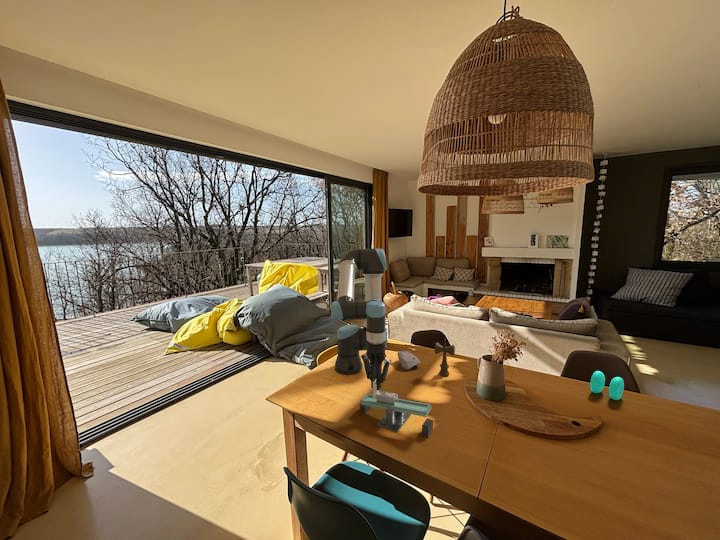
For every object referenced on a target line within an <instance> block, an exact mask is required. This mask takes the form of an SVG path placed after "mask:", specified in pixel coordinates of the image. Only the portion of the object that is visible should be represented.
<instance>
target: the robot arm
mask: <svg viewBox="0 0 720 540" xmlns="http://www.w3.org/2000/svg"><path fill="white" fill-rule="evenodd" d="M385 253H386V252H385V250H384V249H383V248H375V247H374V248H354V249H351V250H347V252H346V253H344V254H343V255H342V257H341V258H340V259H339V262H338V266H337V267H338V271H339V277H338V286H337V287H338V288H337V296H336V297H337V298H336V299H337V300H336V301H332V302H331V304H330V305H331V306H330V315H331V318H332V319H333V320H342V321H343V320H344V321H345V320H365V322H364V323H363V324H362V328H360V326H359V325H358V324H347V325H343V326H341V327H339V328H338V330H337V332H336V333H337V334H336V339H337V341H336V343H337V344H336V345H337V357H336V360H335V363H334V371H335V372H336V373H337V374H340V375H345V376H352V375H356V374H359V373H361V372H362V371H363V369H364V370H365V377H366V379H367V380H370V384H371V386H370V387H371V389H372V395H373V398H376V394H377V393H378V392H379V391H381V390H382V384H383V383H384V382H385V381H386V379H387V377H388V376H387V375H388V372H389V368H390V365H391V363H392V362H393V361H392V359H388V358H387V354H386V347H387V344H388V343H387V341H388V328H387V327H386V313H387V309H386V304H385V302H382V277H383V276H384V275H385V272H386V271H387V268H388V266H387V265H388V264H387V257H386V254H385ZM359 271H360V272H362V273H361V274H362V276H364V283H365V285H364V287H365V289H364V293H365V294H364V295H365V297H364V298H365V300H363V301H361V300H360V301H357V300H356V301H355V282H356V272H359ZM360 351H365V352H364V353H363V354H362V355H360ZM383 364H384V365H383ZM363 366H364V368H363ZM382 367H383V368H382Z"/></svg>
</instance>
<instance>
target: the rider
mask: <svg viewBox="0 0 720 540" xmlns="http://www.w3.org/2000/svg"><path fill="white" fill-rule="evenodd" d="M398 398H399V395H398V393H394V392H389V391H384V390H379V392H378V393H377V394H376V399H377V402H378V403H383V404H389V405H394V406H396V405H397V404H398V403H399V401H398Z"/></svg>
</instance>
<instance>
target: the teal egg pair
mask: <svg viewBox="0 0 720 540" xmlns="http://www.w3.org/2000/svg"><path fill="white" fill-rule="evenodd" d="M605 383H606V376H605V374H604V373H603V372H602V371H600V370H595V371H594V372H593V374H592V375H591V378H590V386H589V387H590V390H591V392H592V393H594V394H600V393H601V392H602V391H603V390H604V387H605ZM624 389H625V381H624V379H623V377H620V376H615V377H613V378H612V379H611V381H610V383H609V387H608V394H609V397H610V398H611V399H612V400H614V401H620V399H621V398H622V396H623V393H624Z"/></svg>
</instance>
